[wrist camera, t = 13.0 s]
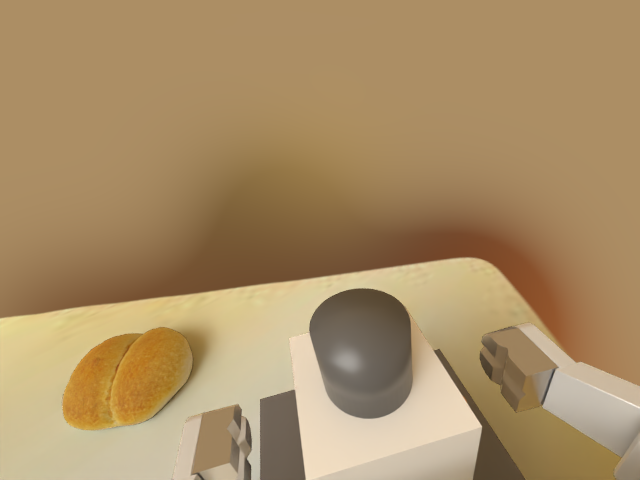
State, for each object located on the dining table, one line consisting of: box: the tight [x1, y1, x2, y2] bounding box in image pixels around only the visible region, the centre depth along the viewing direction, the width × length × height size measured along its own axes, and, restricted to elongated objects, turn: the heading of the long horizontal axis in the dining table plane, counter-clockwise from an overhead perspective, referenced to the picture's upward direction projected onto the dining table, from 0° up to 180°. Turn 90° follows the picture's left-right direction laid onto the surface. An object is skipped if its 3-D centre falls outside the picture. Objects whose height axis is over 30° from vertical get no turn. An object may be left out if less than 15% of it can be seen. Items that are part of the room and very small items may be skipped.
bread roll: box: [62, 327, 193, 430], centre depth 24 cm, size 8×9×4 cm
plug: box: [289, 289, 482, 480], centre depth 10 cm, size 4×4×13 cm
